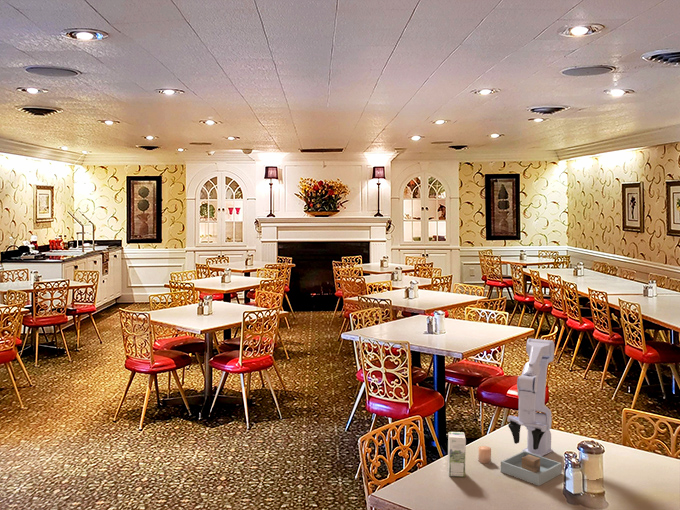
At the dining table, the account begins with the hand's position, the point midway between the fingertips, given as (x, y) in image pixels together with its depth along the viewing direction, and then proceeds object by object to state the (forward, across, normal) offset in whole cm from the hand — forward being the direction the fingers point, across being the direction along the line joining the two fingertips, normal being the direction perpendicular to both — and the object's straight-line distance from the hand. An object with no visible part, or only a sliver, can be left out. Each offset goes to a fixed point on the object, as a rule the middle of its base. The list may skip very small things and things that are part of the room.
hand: (526, 445), depth 217 cm
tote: (+9, +2, 0) cm, 10 cm away
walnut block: (+9, +2, 0) cm, 9 cm away
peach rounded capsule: (+9, -15, -3) cm, 18 cm away
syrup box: (+10, -15, -20) cm, 27 cm away
